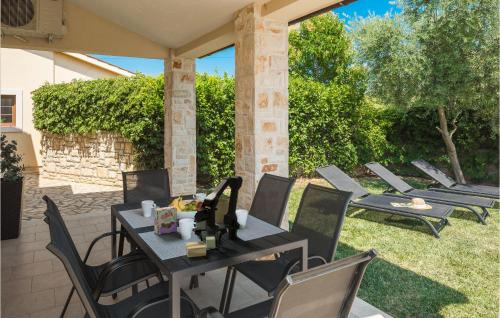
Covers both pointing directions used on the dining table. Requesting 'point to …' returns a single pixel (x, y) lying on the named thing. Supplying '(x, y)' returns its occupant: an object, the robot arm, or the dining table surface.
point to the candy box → (165, 220)
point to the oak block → (195, 249)
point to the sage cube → (210, 242)
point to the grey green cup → (203, 226)
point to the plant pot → (221, 210)
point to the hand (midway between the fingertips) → (210, 244)
